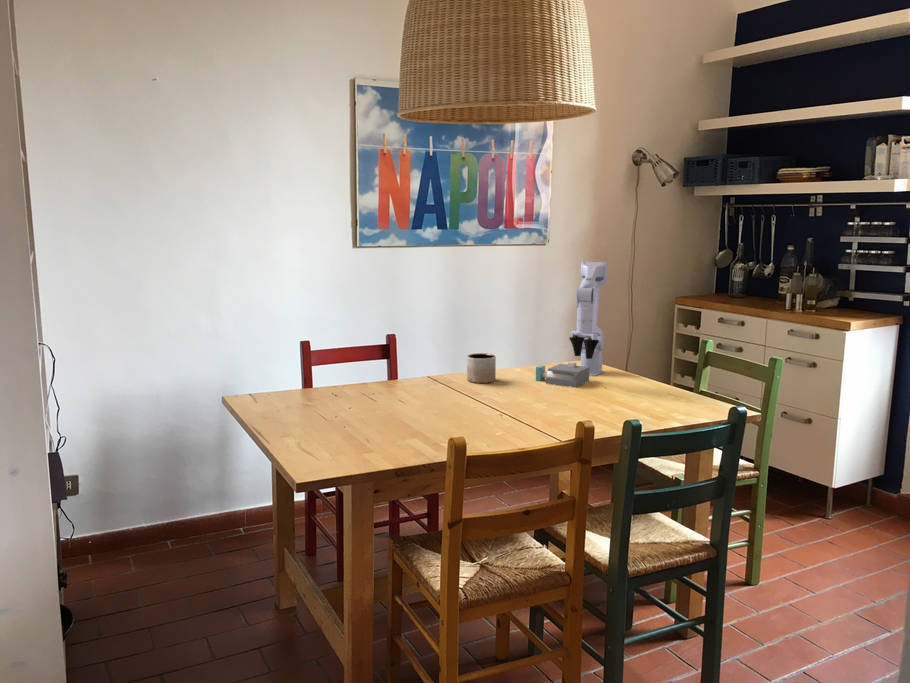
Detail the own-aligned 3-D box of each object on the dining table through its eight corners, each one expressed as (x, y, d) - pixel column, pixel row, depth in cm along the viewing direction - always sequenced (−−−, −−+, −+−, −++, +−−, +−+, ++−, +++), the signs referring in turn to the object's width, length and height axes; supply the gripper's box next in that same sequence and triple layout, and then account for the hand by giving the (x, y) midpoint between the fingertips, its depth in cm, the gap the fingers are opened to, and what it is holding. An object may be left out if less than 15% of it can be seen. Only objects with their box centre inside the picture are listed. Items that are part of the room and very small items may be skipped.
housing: (559, 377, 307) (560, 363, 306) (588, 381, 300) (589, 367, 299) (545, 383, 296) (546, 369, 295) (575, 387, 290) (576, 373, 289)
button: (570, 368, 302) (570, 361, 302) (576, 368, 301) (576, 362, 301) (567, 369, 300) (567, 362, 300) (573, 370, 299) (573, 363, 299)
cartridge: (540, 378, 304) (540, 365, 304) (577, 382, 296) (578, 369, 295) (535, 380, 301) (535, 367, 300) (573, 385, 293) (573, 371, 292)
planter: (498, 383, 297) (499, 358, 295) (470, 384, 295) (470, 359, 293) (491, 377, 307) (491, 352, 306) (464, 378, 305) (464, 353, 303)
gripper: (564, 318, 294) (563, 355, 296) (586, 322, 281) (585, 360, 283) (580, 318, 297) (579, 354, 299) (603, 322, 284) (601, 359, 286)
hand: (583, 357), depth 291 cm, fingers open, 7 cm apart
